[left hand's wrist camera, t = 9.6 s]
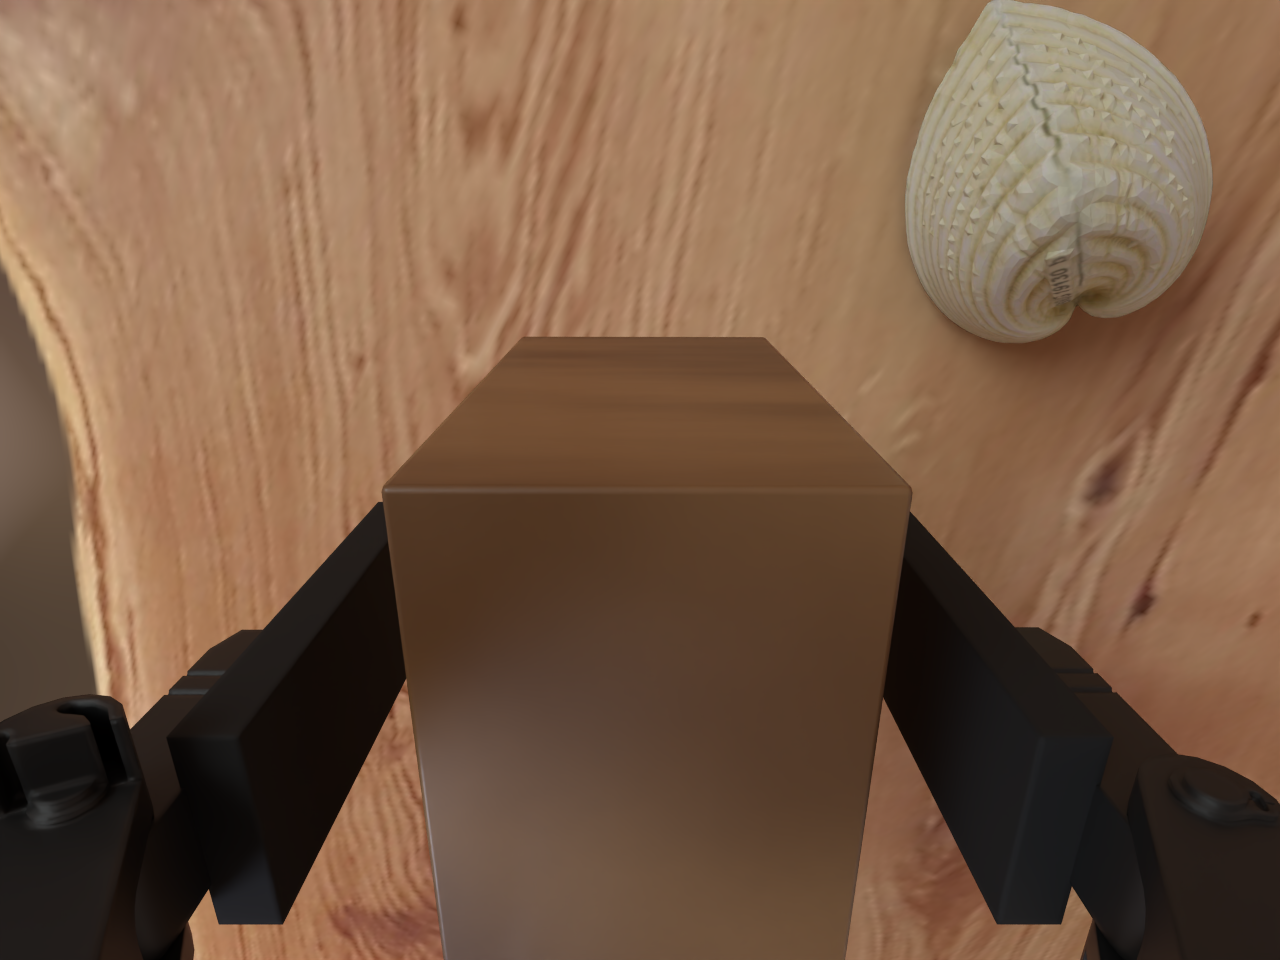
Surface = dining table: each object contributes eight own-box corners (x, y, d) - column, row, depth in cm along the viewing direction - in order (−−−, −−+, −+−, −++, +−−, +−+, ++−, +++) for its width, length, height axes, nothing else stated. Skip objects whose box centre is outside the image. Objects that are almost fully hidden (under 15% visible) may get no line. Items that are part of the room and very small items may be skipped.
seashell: (948, 417, 24) (882, 242, 18) (919, 242, 28) (858, 57, 22) (1260, 346, 20) (1301, 94, 14) (1169, 156, 24) (1174, -94, 19)
